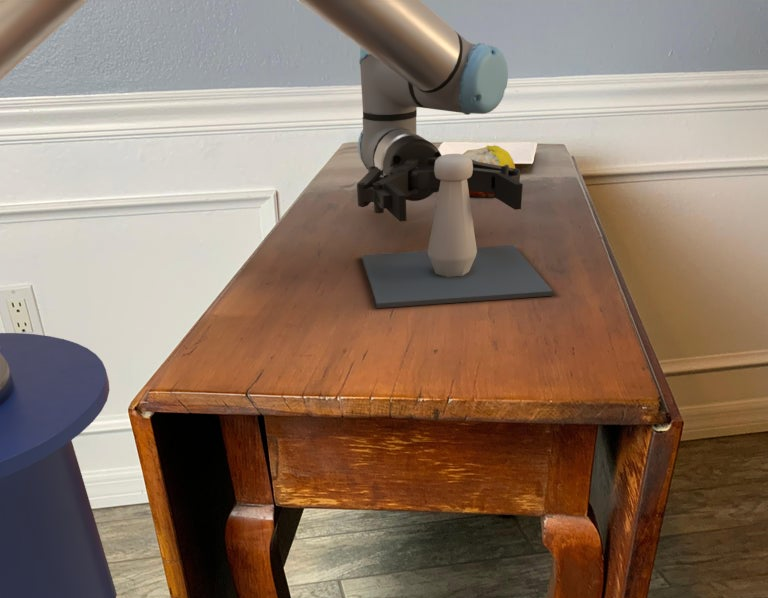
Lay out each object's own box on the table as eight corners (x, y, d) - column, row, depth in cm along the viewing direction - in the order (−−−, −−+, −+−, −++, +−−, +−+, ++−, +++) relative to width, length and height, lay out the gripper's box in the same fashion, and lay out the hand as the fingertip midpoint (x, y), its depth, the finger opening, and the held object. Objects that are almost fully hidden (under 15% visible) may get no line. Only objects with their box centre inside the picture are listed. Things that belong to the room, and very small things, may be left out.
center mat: (376, 308, 88) (376, 303, 87) (362, 259, 103) (362, 254, 102) (552, 296, 89) (553, 290, 89) (513, 249, 104) (513, 244, 104)
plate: (441, 152, 158) (442, 141, 157) (536, 153, 155) (537, 141, 153) (427, 173, 143) (427, 161, 142) (532, 174, 140) (532, 162, 138)
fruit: (453, 179, 137) (468, 130, 132) (510, 199, 136) (527, 151, 131) (440, 192, 128) (455, 141, 123) (500, 214, 127) (518, 164, 122)
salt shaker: (480, 277, 93) (484, 159, 86) (432, 280, 93) (432, 162, 86) (470, 262, 98) (473, 149, 91) (424, 265, 98) (424, 152, 90)
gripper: (496, 186, 110) (561, 226, 93) (319, 203, 105) (354, 248, 88) (498, 127, 105) (568, 157, 88) (314, 142, 101) (350, 176, 84)
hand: (461, 202), depth 88 cm, fingers open, 13 cm apart
